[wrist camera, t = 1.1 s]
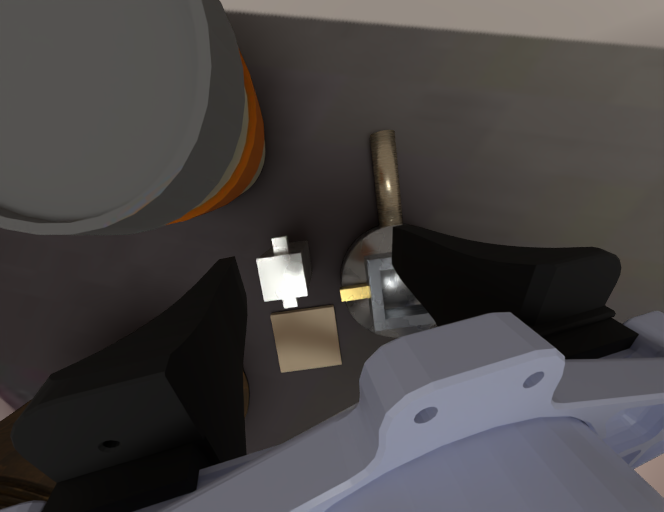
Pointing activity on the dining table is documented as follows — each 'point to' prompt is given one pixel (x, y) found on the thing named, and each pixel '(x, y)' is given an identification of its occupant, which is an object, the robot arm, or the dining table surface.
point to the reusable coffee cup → (122, 115)
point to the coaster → (306, 338)
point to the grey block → (285, 271)
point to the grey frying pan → (380, 240)
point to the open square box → (373, 292)
